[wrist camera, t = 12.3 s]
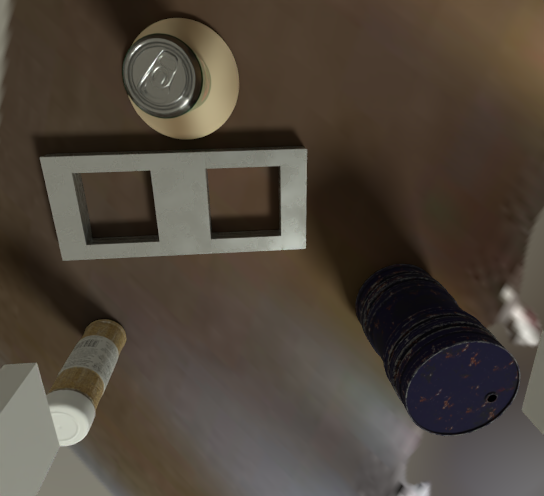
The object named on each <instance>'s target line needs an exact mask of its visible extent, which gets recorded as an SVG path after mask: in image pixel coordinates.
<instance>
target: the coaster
mask: <svg viewBox="0 0 544 496" xmlns="http://www.w3.org/2000/svg"><path fill="white" fill-rule="evenodd" d="M154 33H163V34H169V35H172V36H175V37H177V38H179V39H180V40H182V41H183V42H185V43H186V44H187V45H188V46H189V47H190V48H191V49H192V50H193V51H194V52H195V53H196V54H197V55H198V56H199V57H200V58H201V59H202V60H203V61H204V62H205V64H206V65H207V67H208V69H209V72H210V75H211V90H210V93H209V96H208V98H207V99H206V101H205V102H204V103H203V104H202V105H201V106H200V107H198V108H196V109H194V110H192V111H190V112H188V113H186V114H184V115H182V116H179V117H176V118H171V119H163V118H157V117H154V116H151V115H149V114H147V113H145V112H144V111H142V110H141V109H140V108H139V107H137V106H136V105H135V103H134V102H133V101H132V100H131V98H130V97H129V99H130V101H131V103H132V105H133V107H134V108H135V110H136V112H137V113H138V114H139V116H140V117H141V118H142V119H143V120H144V121H145V122H146V123H147V124H148V125H149V126H150V127H152V128H153V129H154V130H156V131H158V132H159V133H161V134H164V135H166V136H169V137H172V138H177V139H196V138H201V137H204V136H206V135H209V134H211V133H212V132H214V131H216V130H217V129H218V128H220V127H221V126H222V125H223V124H224V123H225V122H226V120H227V119H228V118H229V116H230V115H231V113H232V111H233V109H234V107H235V104H236V101H237V98H238V92H239V75H238V69H237V65H236V62H235V59H234V57H233V55H232V53H231V51H230V49H229V48H228V46H227V45H226V43H225V42H224V41H223V40H222V38H221V37H220V36H219V35H218V34H217V33H215V32H214V31H213V30H212V29H210V28H209V27H207V26H206V25H204V24H202V23H200V22H197V21H194V20H190V19H186V18H169V19H164V20H161V21H158V22H156V23H154V24H152V25H150V26H149V27H147V28H146V29H145V30H144V31H142V32H141V33H140V34H139V36H138V37H137V38H136V39H135V41H134V42H133V44H134V43H135V42H136V41H137V40H138V39H140V38H142V37H144V36H146V35H149V34H154ZM133 44H132V45H133ZM128 96H129V95H128Z"/></svg>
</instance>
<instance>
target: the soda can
mask: <svg viewBox="0 0 544 496" xmlns="http://www.w3.org/2000/svg"><path fill="white" fill-rule="evenodd" d="M122 75H123V82H124V85H125V89H126V91H127V93H128V95H129V97H130V98H131V100H132V101H133V102H134V103H135V105H136V106H137V107H139V108H140V109H141V110H142V111H144V112H145V113H147V114H149V115H151V116H154V117H157V118H163V119H171V118H176V117H179V116H182V115H184V114H186V113H188V112H190V111H192V110H194V109H196V108H198V107H200V106H201V105H202V104H203V103H204V102H205V101H206V99H207V98H208V96H209V93H210V90H211V75H210V72H209V69H208V67H207V65H206V64H205V62H204V61H203V60H202V59H201V58H200V57H199V56H198V55H197V54H196V53H195V52H194V51H193V50H192V49H191V48H190V47H189V46H188V45H187V44H186V43H185V42H183V41H182V40H180V39H179V38H177V37H175V36H172V35H169V34H163V33H154V34H149V35H146V36H144V37H142V38H140V39H138V40H137V41H136V42H135V43H134V44H133V45H132V46H131V47H130V48H129V50H128V52H127V54H126V56H125V59H124V62H123V69H122Z"/></svg>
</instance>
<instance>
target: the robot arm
mask: <svg viewBox="0 0 544 496" xmlns="http://www.w3.org/2000/svg"><path fill="white" fill-rule="evenodd" d="M522 412H523V413H524V414H525V415H526V416H527V417H528V418H529V419H530V420H531V422H532V423H533V424H534V425H535V426H536V427H537V428H538V429H539V430H540V432H541V433H542V434H543V435H544V330H543V331H542V335H541V338H540V342H539V346H538V350H537V354H536V357H535V362H534V365H533V369H532V373H531V376H530V380H529V384H528V388H527V392H526V395H525V399H524V403H523V407H522ZM59 448H60V445H59V441H58V438H57V434H56V430H55V427H54V423H53V420H52V416H51V412H50V409H49V405H48V401H47V398H46V394H45V391H44V387H43V383H42V380H41V376H40V372H39V369H38V365H37V363H25V364H9V365H4V366H3V367H2V368H1V369H0V496H36V495H37V493H38V491H39V489H40V487H41V485H42V483H43V481H44V479H45V477H46V475H47V473H48V470H49V469H50V466H51V464H52V462H53V460H54V458H55V456H56V454H57V452H58V450H59Z"/></svg>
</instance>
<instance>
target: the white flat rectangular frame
mask: <svg viewBox="0 0 544 496" xmlns="http://www.w3.org/2000/svg"><path fill="white" fill-rule="evenodd" d="M40 162H41V166H42V171H43V175H44V179H45V184H46V188H47V193H48V197H49V202H50V206H51V210H52V215H53V219H54V224H55V228H56V233H57V237H58V242H59V246H60V250H61V255H62V259H63V261H66V260H86V259H107V258H127V257H147V256H168V255H188V254H209V253H229V252H250V251H270V250H291V249H306V191H307V148H305V147H304V146H287V147H255V148H222V149H190V150H158V151H125V152H93V153H60V154H47V155H44V156H42V157H40ZM265 166H278V172H279V230H259V231H237V232H215V233H212V227H211V214H210V201H209V188H208V175H207V168H236V167H265ZM148 170H150V171H151V179H152V186H153V194H154V202H155V210H156V218H157V225H158V233H159V235H149V236H127V237H105V238H93V236H92V231H91V226H90V220H89V215H88V210H87V205H86V200H85V194H84V189H83V184H82V179H81V173H90V172H119V171H148Z"/></svg>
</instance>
